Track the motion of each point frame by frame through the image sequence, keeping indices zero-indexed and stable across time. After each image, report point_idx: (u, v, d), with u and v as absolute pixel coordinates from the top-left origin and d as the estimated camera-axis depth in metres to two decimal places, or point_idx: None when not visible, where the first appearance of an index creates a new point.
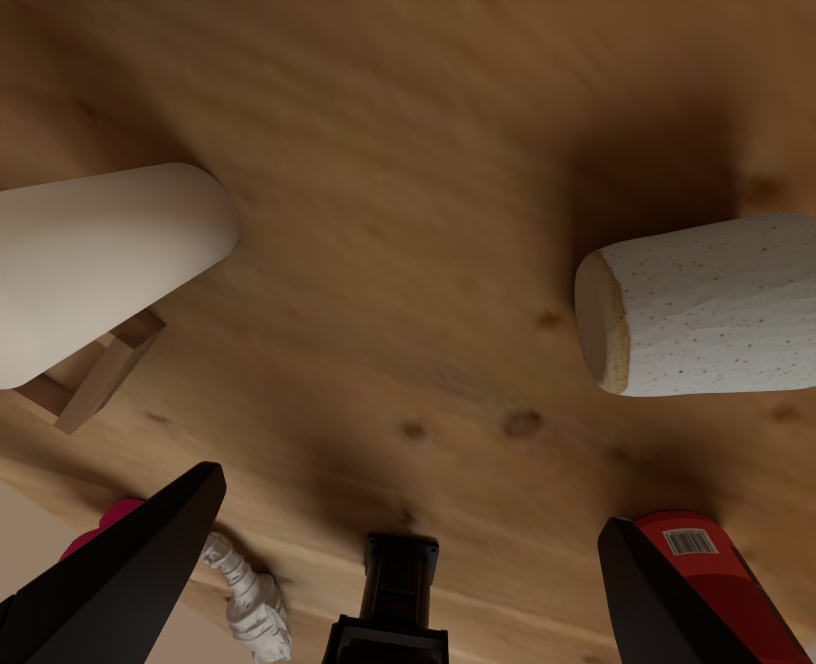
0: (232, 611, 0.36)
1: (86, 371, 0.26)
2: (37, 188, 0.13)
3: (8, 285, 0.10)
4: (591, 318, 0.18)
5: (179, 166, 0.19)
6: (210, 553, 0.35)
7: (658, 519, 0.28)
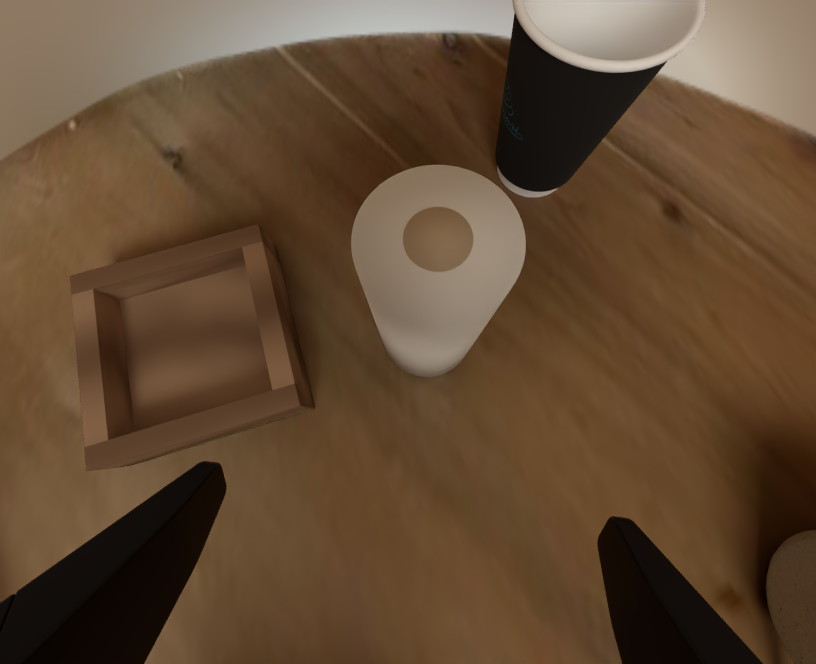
0: None
1: (182, 410, 0.22)
2: None
3: (524, 250, 0.12)
4: None
5: None
6: None
7: None
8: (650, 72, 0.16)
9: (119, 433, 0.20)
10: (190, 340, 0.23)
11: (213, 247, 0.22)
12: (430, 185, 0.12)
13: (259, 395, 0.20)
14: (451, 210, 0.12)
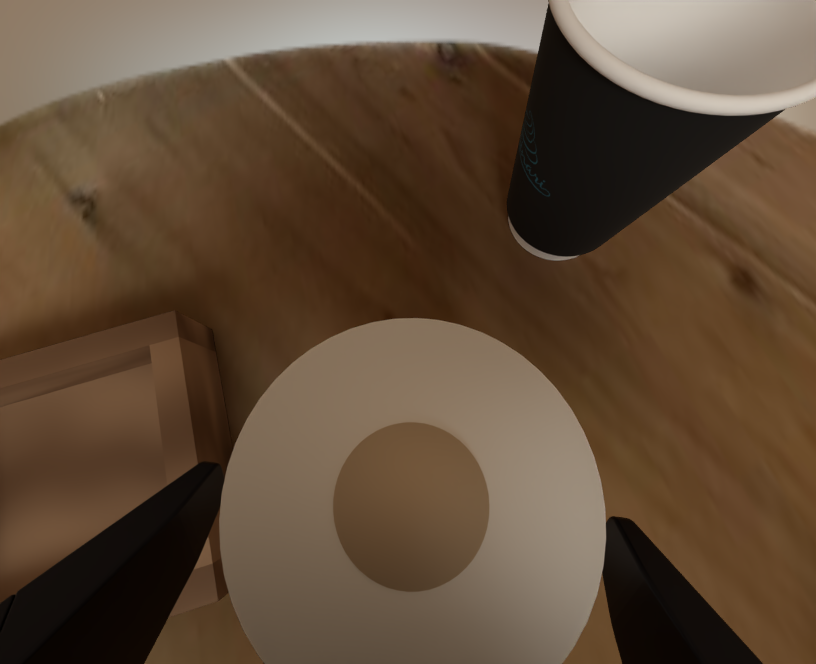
0: None
1: None
2: None
3: (603, 528, 0.05)
4: None
5: None
6: None
7: None
8: (779, 112, 0.10)
9: None
10: (80, 472, 0.16)
11: (109, 344, 0.15)
12: (398, 367, 0.06)
13: None
14: (441, 428, 0.06)
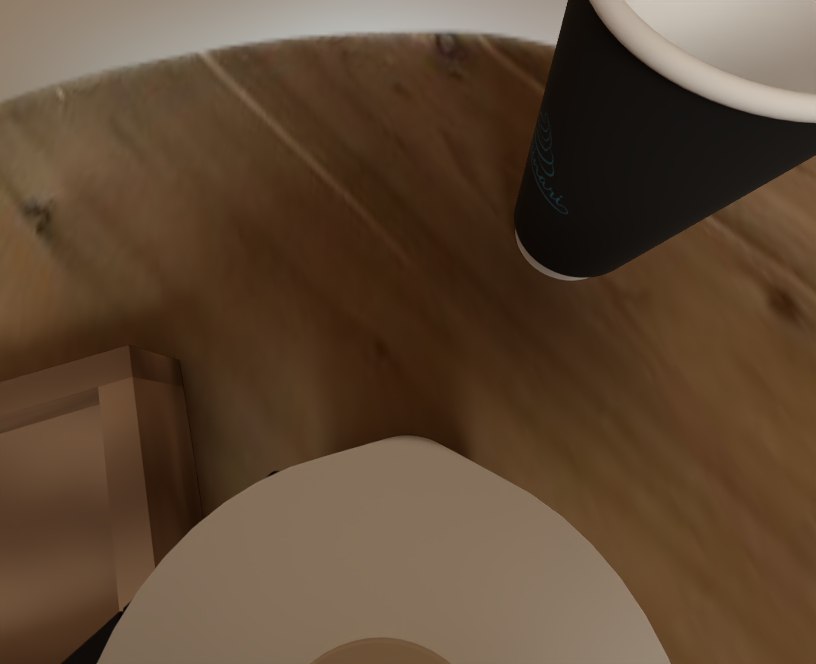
0: None
1: None
2: None
3: None
4: None
5: None
6: None
7: None
8: None
9: None
10: (21, 532, 0.14)
11: (51, 386, 0.13)
12: (363, 537, 0.04)
13: None
14: (431, 651, 0.03)
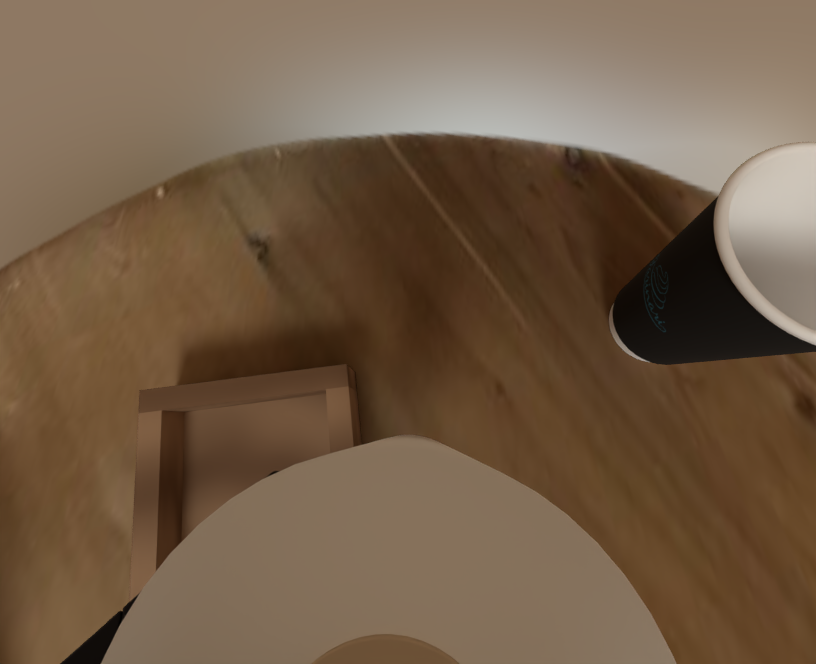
0: None
1: None
2: None
3: None
4: None
5: None
6: None
7: None
8: None
9: None
10: (252, 474, 0.21)
11: (295, 383, 0.20)
12: (368, 533, 0.04)
13: None
14: (435, 649, 0.03)
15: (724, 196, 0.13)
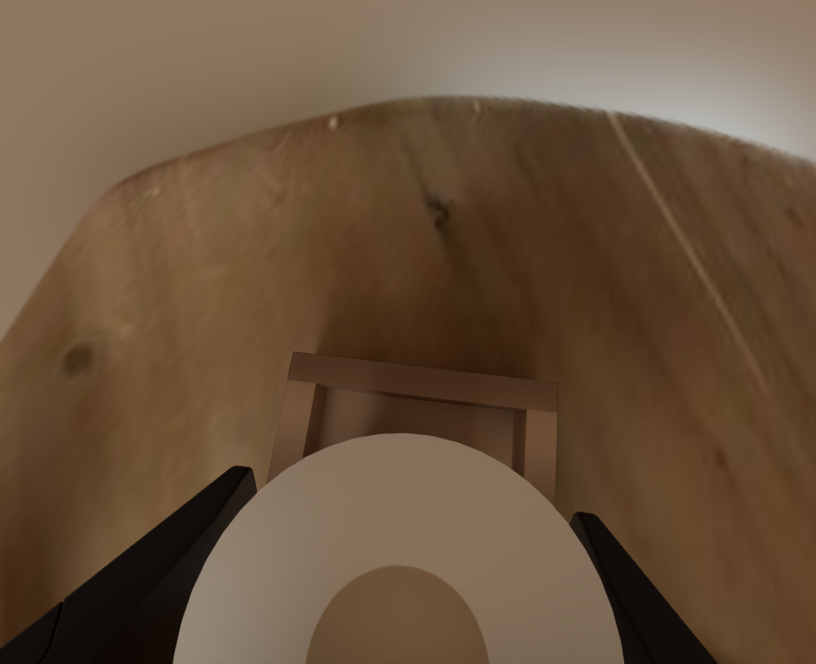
0: None
1: None
2: None
3: None
4: None
5: None
6: None
7: None
8: None
9: None
10: None
11: (488, 391, 0.15)
12: (383, 495, 0.05)
13: None
14: (433, 575, 0.05)
15: None
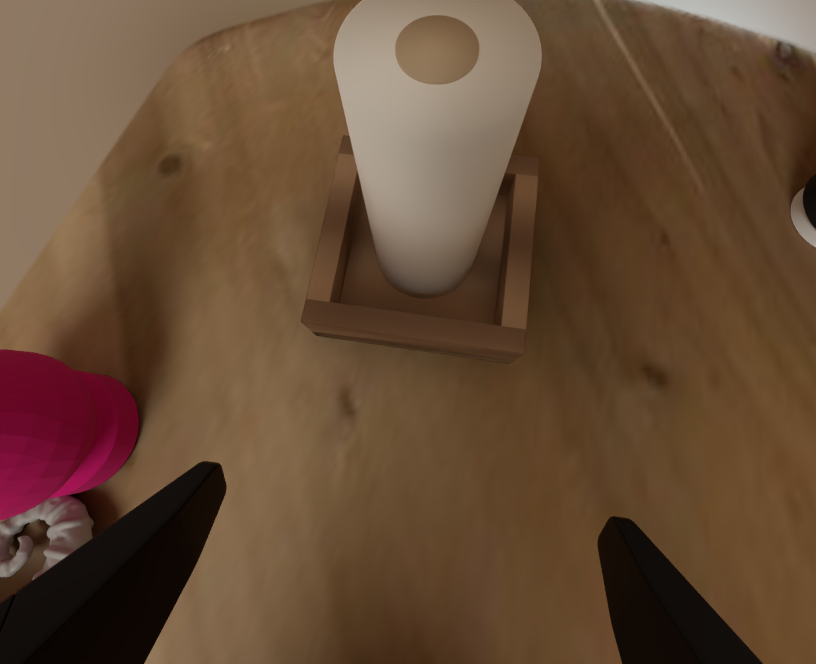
0: None
1: (389, 306, 0.21)
2: None
3: (540, 65, 0.10)
4: None
5: None
6: None
7: None
8: None
9: (334, 301, 0.20)
10: None
11: None
12: None
13: (486, 325, 0.19)
14: (454, 20, 0.10)
15: None
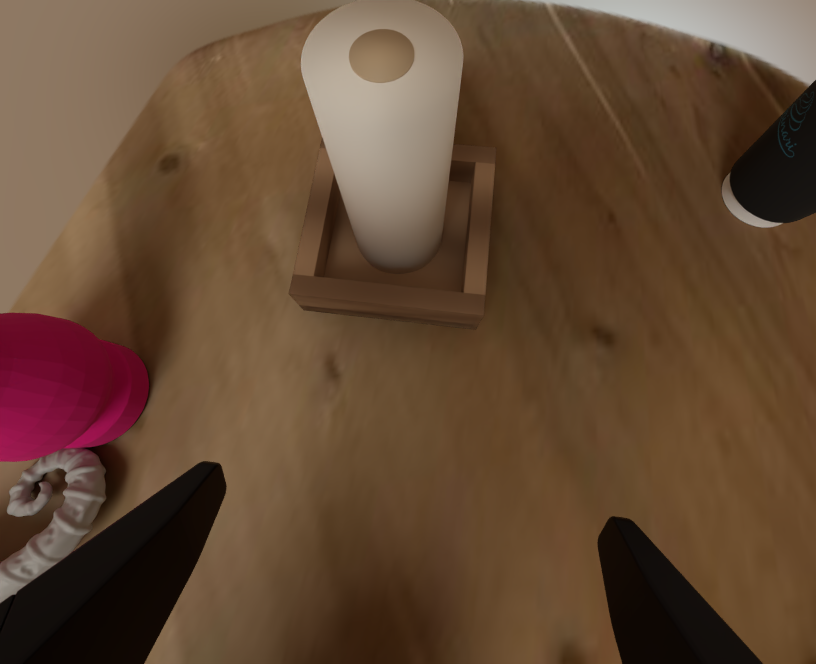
0: None
1: (367, 281, 0.24)
2: None
3: (462, 65, 0.13)
4: None
5: None
6: (75, 501, 0.20)
7: None
8: None
9: (318, 276, 0.23)
10: None
11: None
12: (377, 13, 0.13)
13: (451, 292, 0.21)
14: (395, 32, 0.13)
15: None
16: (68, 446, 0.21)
